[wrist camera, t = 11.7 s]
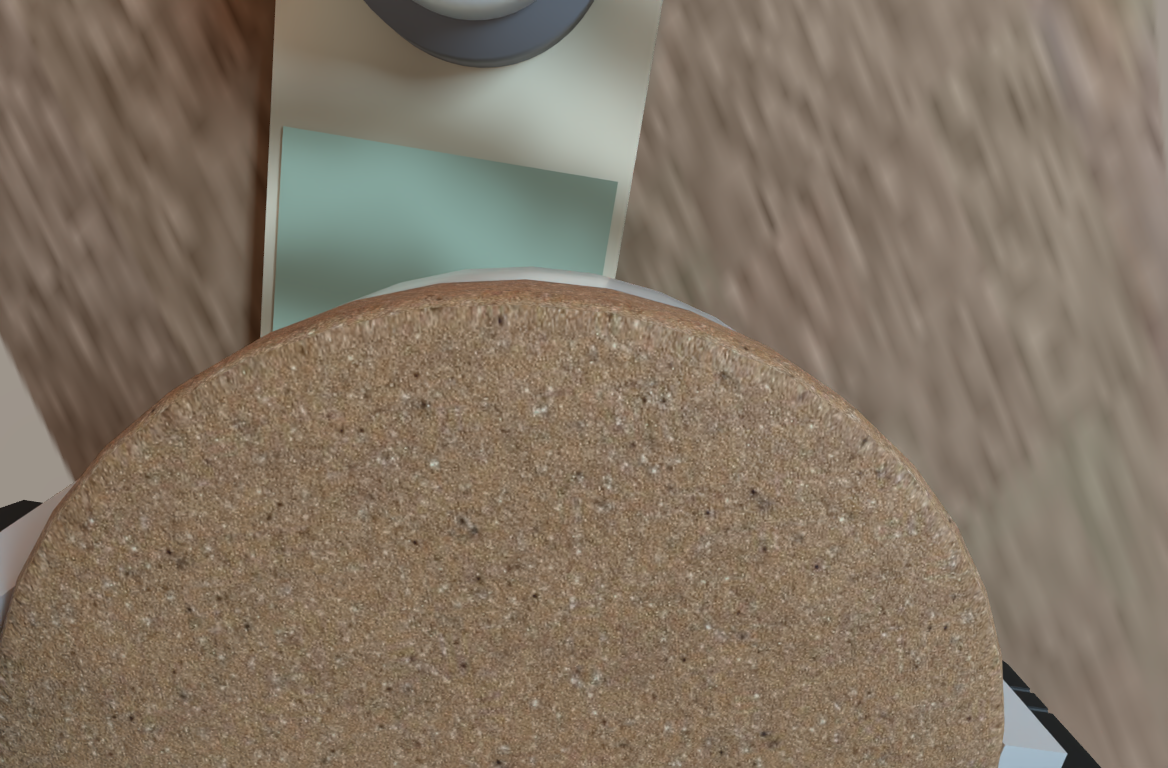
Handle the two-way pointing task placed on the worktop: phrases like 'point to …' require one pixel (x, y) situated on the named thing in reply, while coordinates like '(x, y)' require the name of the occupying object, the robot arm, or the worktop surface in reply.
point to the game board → (447, 143)
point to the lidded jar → (501, 557)
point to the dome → (474, 8)
